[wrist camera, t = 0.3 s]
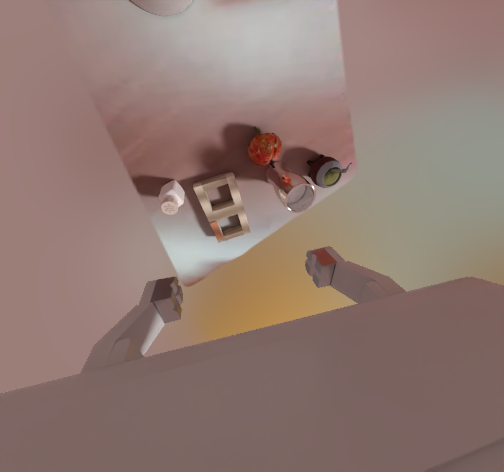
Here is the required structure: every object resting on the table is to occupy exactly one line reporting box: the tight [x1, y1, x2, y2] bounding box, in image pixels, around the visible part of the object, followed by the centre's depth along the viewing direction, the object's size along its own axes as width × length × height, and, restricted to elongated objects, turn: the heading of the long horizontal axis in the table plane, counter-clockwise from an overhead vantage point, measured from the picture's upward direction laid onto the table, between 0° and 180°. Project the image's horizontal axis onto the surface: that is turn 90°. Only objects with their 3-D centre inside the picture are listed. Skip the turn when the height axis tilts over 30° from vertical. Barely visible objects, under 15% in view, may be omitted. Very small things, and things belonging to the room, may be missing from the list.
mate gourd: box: [307, 155, 352, 188], centre depth 44 cm, size 8×8×15 cm
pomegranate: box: [248, 127, 281, 168], centre depth 41 cm, size 7×7×10 cm
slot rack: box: [193, 171, 250, 242], centre depth 50 cm, size 18×10×3 cm, turn 12°
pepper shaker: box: [158, 180, 185, 215], centre depth 41 cm, size 4×4×10 cm
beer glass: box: [265, 162, 316, 213], centre depth 43 cm, size 7×7×15 cm
